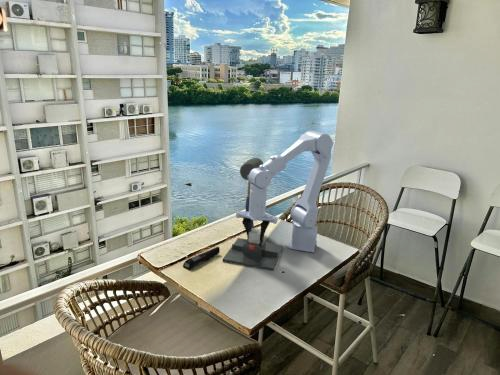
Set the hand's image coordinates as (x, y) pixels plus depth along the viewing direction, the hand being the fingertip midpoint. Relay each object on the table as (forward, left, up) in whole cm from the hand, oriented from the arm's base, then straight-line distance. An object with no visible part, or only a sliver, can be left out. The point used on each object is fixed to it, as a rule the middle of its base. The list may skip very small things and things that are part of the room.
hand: (255, 238), depth 128 cm
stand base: (0, 0, -6) cm, 6 cm away
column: (0, 0, -5) cm, 5 cm away
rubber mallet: (+8, -21, -6) cm, 23 cm away
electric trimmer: (+16, +11, -7) cm, 20 cm away
